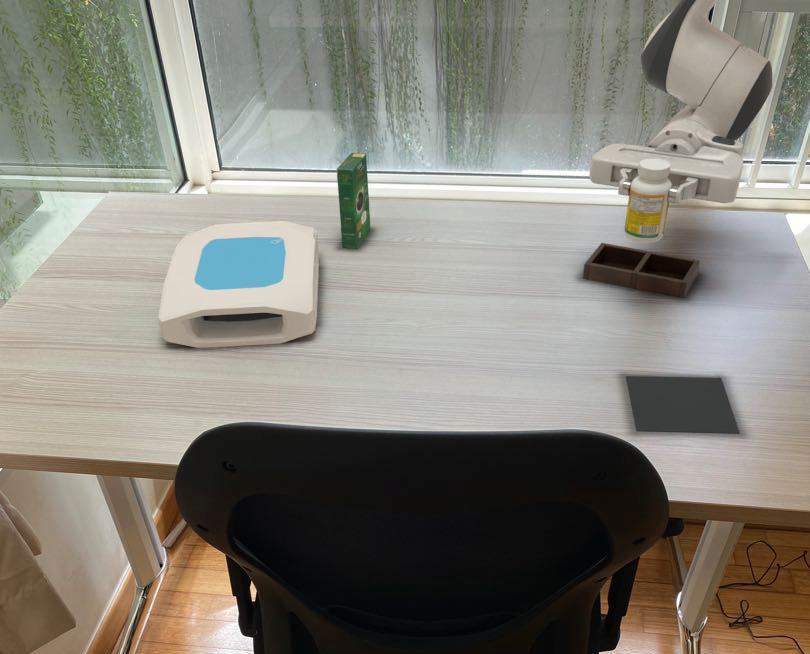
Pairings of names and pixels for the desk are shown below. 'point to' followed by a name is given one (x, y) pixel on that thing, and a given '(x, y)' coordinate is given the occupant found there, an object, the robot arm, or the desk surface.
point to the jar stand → (641, 270)
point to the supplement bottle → (648, 202)
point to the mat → (680, 405)
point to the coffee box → (353, 200)
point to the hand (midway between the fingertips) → (648, 193)
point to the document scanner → (241, 284)
